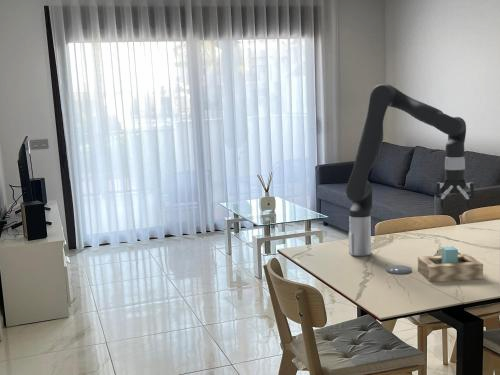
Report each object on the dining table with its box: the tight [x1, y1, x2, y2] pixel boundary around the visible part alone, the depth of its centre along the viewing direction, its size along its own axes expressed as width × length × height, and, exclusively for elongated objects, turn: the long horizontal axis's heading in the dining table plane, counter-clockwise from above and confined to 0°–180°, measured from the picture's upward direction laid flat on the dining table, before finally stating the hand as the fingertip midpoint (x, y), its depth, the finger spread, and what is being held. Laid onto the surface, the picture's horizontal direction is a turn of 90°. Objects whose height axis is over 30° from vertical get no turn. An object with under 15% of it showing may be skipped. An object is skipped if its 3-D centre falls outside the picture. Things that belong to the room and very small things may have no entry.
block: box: [441, 246, 459, 264], centre depth 224 cm, size 4×4×8 cm
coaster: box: [385, 264, 413, 275], centre depth 233 cm, size 10×10×1 cm
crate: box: [417, 253, 484, 283], centre depth 225 cm, size 20×14×6 cm
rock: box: [433, 248, 461, 256], centre depth 245 cm, size 11×11×4 cm
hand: (454, 208), depth 235 cm, fingers open, 8 cm apart
